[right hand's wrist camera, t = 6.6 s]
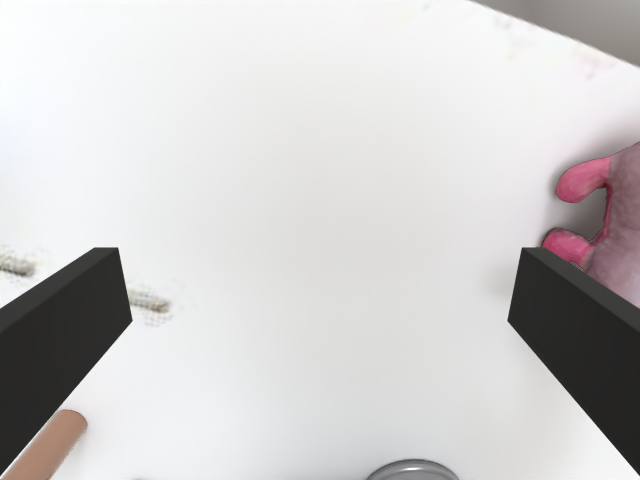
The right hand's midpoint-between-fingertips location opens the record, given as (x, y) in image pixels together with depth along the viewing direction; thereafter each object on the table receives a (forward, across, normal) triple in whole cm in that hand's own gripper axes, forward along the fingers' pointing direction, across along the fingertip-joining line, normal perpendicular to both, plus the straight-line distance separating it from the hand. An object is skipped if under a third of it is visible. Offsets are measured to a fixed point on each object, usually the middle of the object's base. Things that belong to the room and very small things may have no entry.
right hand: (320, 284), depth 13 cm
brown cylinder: (+28, +34, +35) cm, 56 cm away
